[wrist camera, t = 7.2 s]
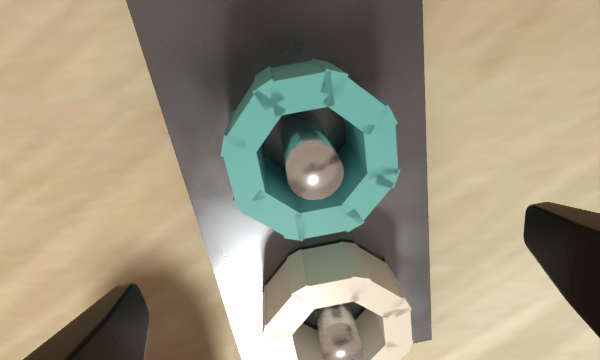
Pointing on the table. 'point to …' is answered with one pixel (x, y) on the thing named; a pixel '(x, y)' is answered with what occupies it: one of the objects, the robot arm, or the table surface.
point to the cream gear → (335, 303)
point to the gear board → (218, 84)
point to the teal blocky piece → (354, 154)
